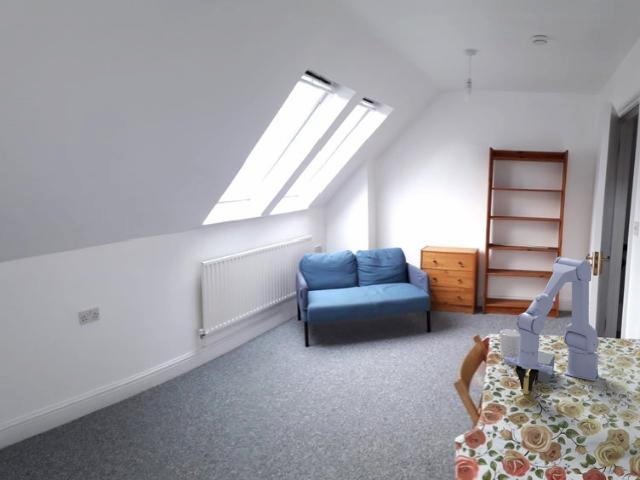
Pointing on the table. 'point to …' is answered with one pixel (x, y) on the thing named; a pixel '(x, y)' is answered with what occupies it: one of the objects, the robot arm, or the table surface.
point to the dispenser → (547, 360)
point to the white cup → (509, 343)
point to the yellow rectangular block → (526, 383)
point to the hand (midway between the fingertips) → (526, 389)
